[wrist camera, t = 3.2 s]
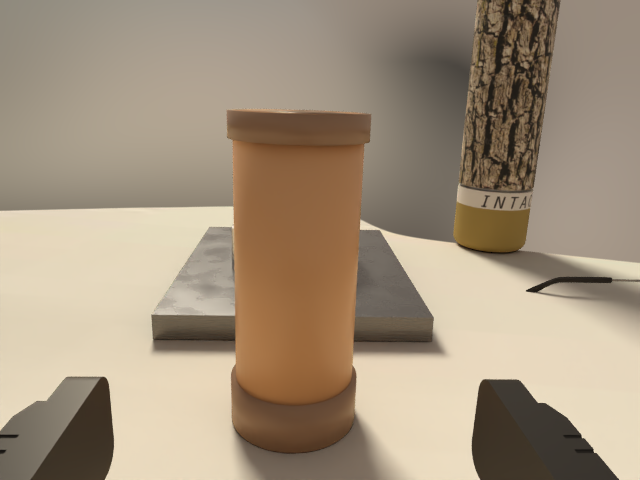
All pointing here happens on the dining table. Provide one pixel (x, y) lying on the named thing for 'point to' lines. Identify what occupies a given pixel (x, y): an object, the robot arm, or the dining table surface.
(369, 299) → the plate
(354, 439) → the dining table surface
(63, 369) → the dining table surface
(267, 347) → the capped orange cylinder
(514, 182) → the paper tube
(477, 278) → the dining table surface
